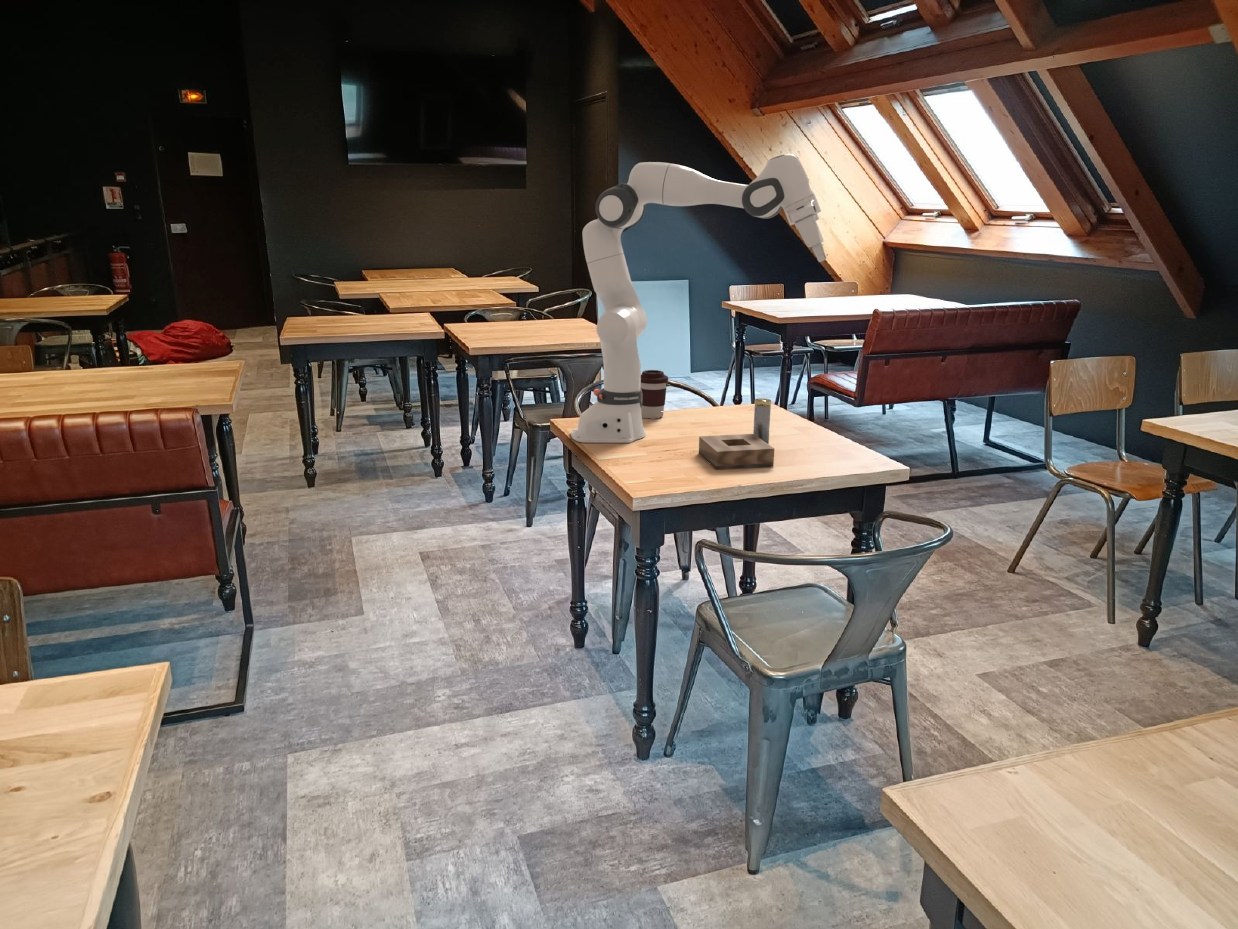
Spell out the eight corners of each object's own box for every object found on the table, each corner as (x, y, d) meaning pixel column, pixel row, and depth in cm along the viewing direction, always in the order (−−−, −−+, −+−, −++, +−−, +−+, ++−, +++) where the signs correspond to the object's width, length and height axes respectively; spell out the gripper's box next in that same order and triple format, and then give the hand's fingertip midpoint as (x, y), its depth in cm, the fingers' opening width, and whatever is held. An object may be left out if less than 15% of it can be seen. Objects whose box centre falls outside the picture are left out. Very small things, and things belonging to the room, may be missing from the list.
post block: (716, 469, 235) (717, 451, 234) (698, 453, 250) (699, 436, 249) (773, 466, 238) (774, 448, 237) (752, 450, 253) (753, 433, 252)
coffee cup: (631, 415, 295) (632, 370, 291) (657, 412, 299) (658, 368, 295) (646, 421, 287) (646, 375, 282) (672, 418, 291) (673, 373, 287)
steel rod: (755, 450, 254) (758, 402, 250) (750, 445, 259) (752, 398, 255) (770, 449, 255) (773, 401, 251) (765, 445, 260) (767, 398, 256)
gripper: (794, 218, 248) (813, 264, 250) (789, 217, 229) (809, 266, 231) (816, 208, 246) (835, 254, 248) (812, 206, 227) (832, 256, 229)
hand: (822, 260), depth 239 cm, fingers open, 8 cm apart
